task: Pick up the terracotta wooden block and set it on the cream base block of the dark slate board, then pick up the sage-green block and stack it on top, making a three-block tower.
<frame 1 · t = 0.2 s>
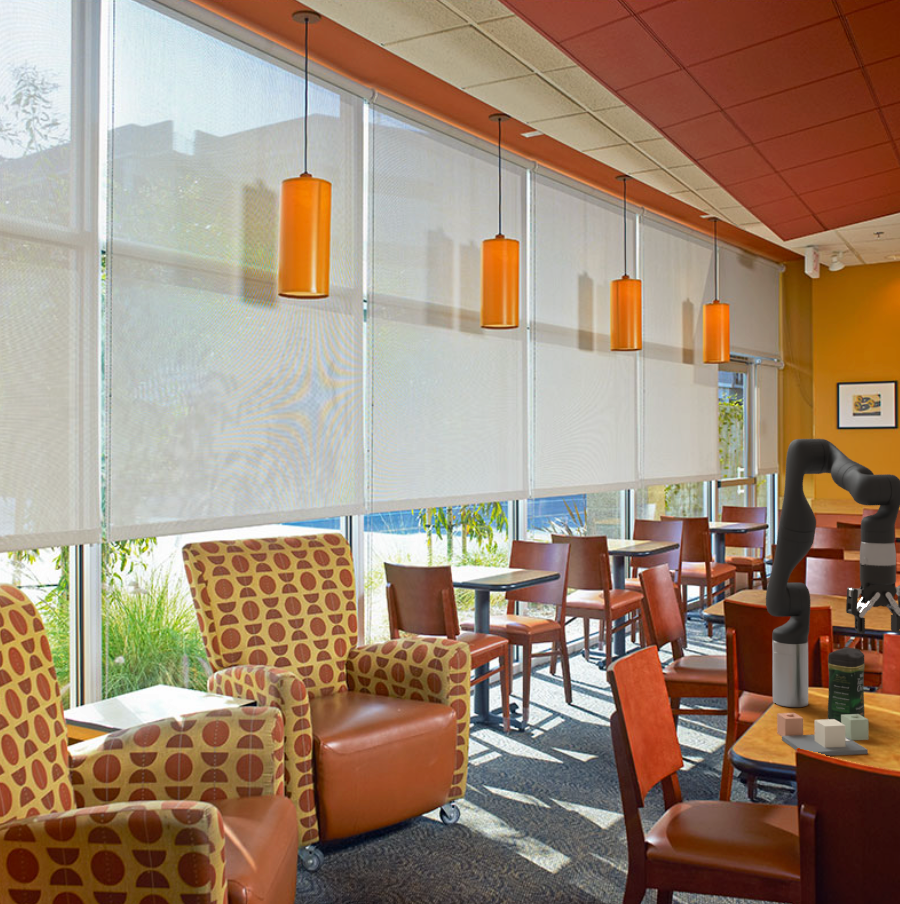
hand: (877, 632, 212), 29 cm above the table, fingers open, 8 cm apart
brick sage: (854, 737, 227), on the table
brick terracotta: (790, 735, 228), on the table
build board: (823, 746, 220), on the table
coffee jar: (846, 721, 240), on the table
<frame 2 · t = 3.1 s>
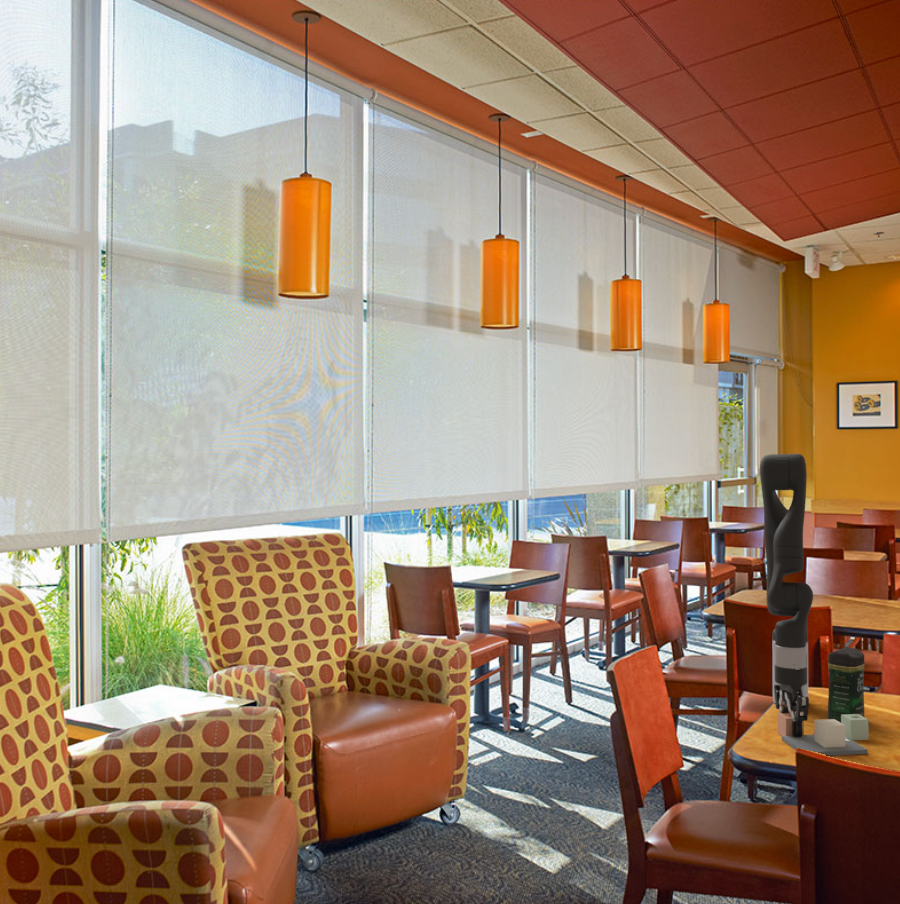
hand: (791, 732, 227), 1 cm above the table, fingers open, 5 cm apart
brick terracotta: (790, 736, 228), on the table, touching gripper
everything else where it was.
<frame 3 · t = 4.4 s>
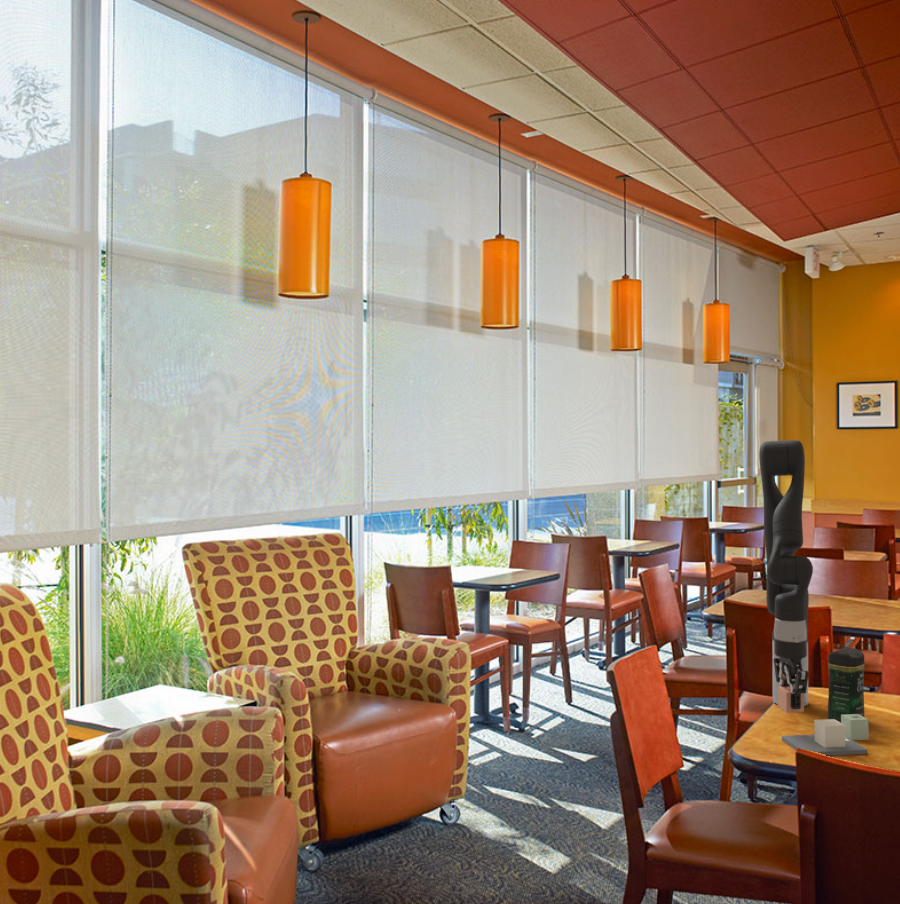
hand: (790, 705, 229), 7 cm above the table, fingers closed on brick terracotta, 4 cm apart
brick terracotta: (790, 709, 229), point 6 cm above the table, touching gripper
everything else where it was.
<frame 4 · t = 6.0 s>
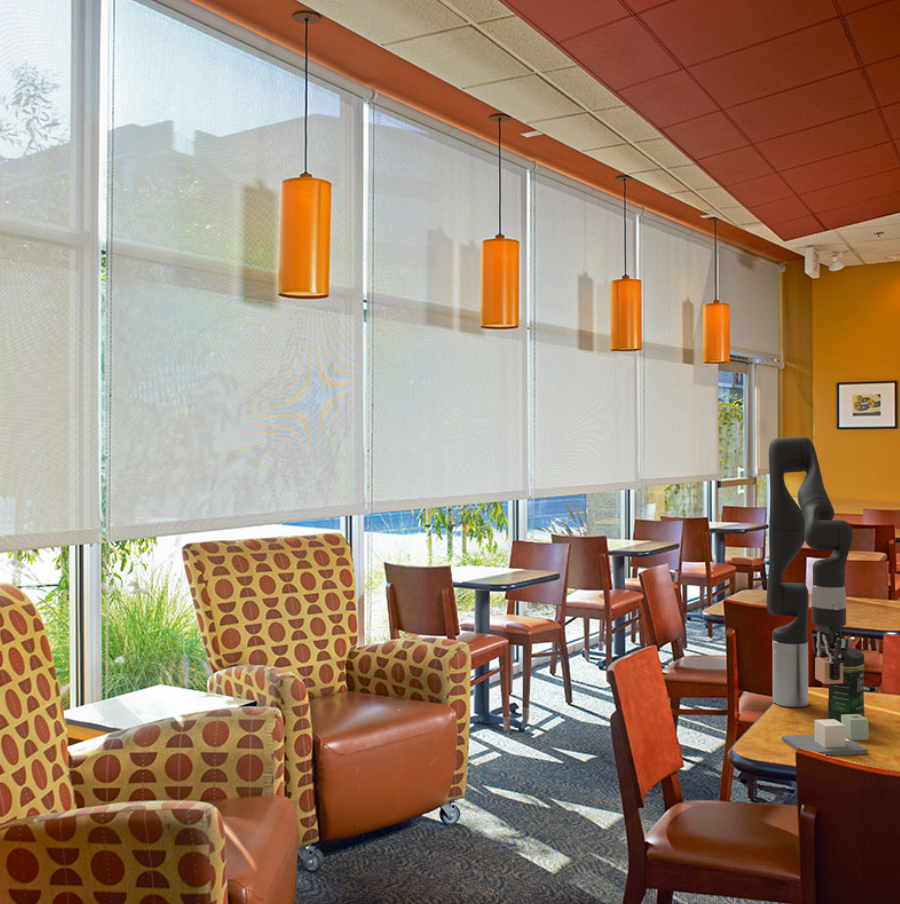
hand: (829, 676, 219), 17 cm above the table, fingers closed on brick terracotta, 4 cm apart
brick terracotta: (828, 680, 219), point 16 cm above the table, touching gripper
everything else where it was.
when the fingers open (7 cm above the table, at t = 8.0 s): brick terracotta stays where it is, resting on build board.
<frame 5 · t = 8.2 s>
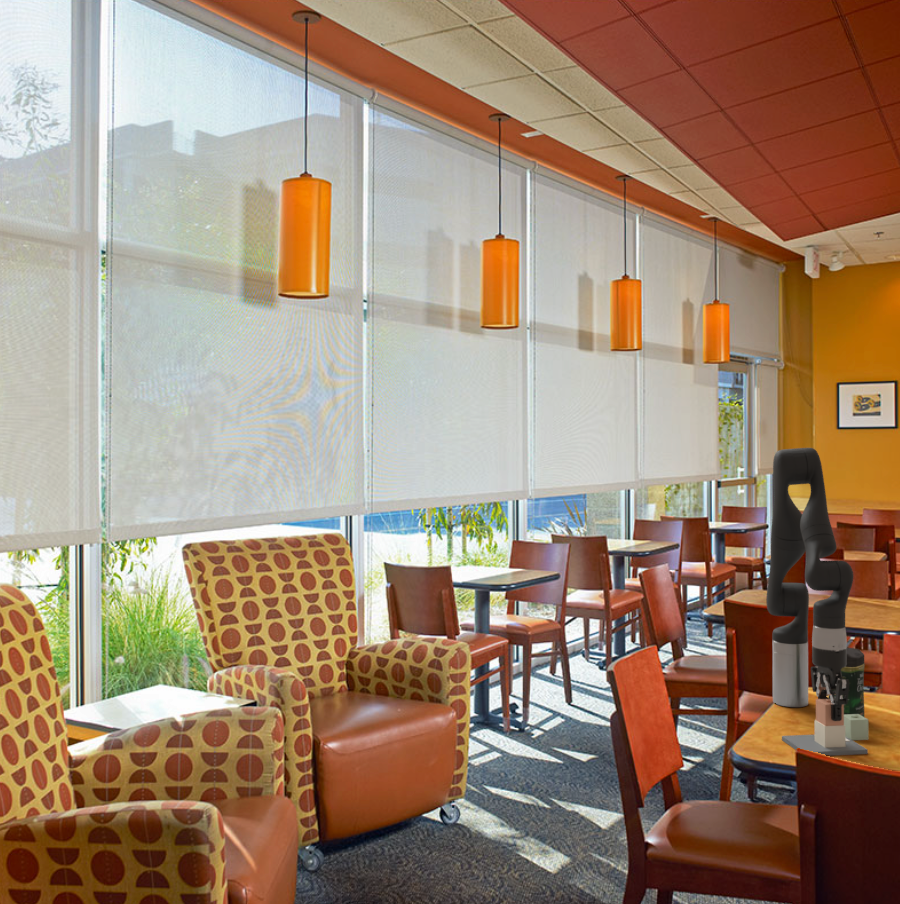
hand: (829, 716, 219), 7 cm above the table, fingers open, 5 cm apart
brick terracotta: (829, 722, 219), point 6 cm above the table, touching build board
everything else where it was.
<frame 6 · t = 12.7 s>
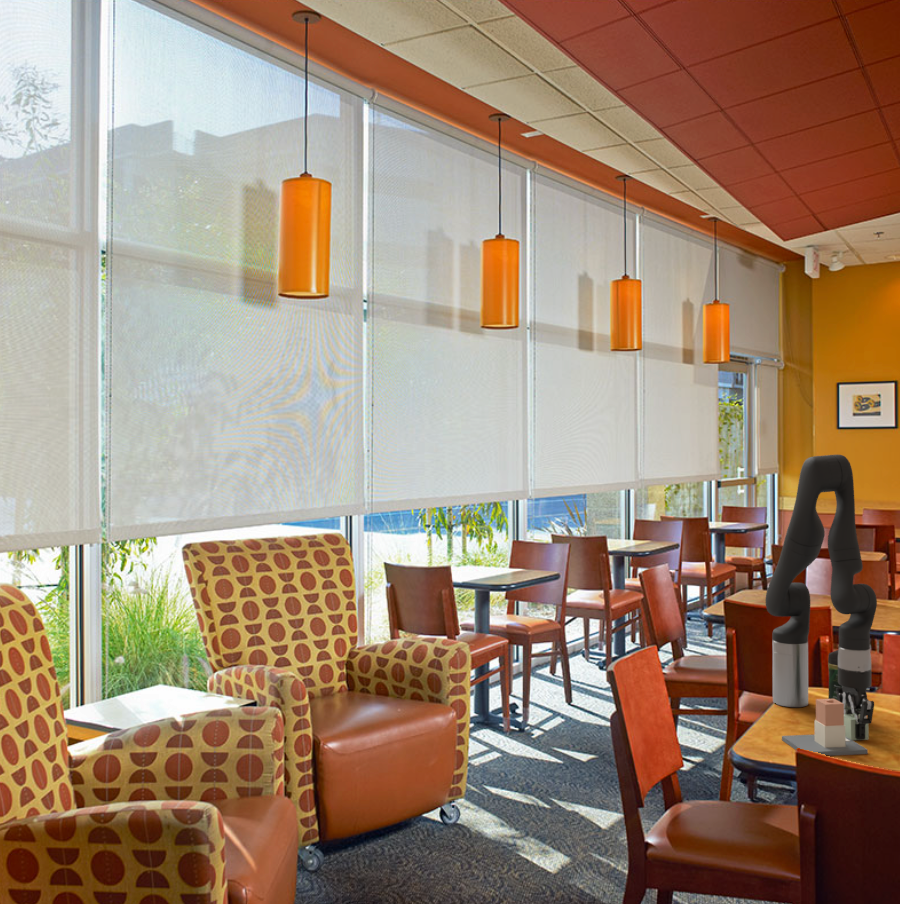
hand: (854, 735, 227), 0 cm above the table, fingers closed on brick sage, 4 cm apart
brick sage: (854, 737, 227), on the table, touching gripper
everything else where it was.
when the fingers open (12 cm above the table, at t = 17.4 s): brick sage stays where it is, resting on brick terracotta.
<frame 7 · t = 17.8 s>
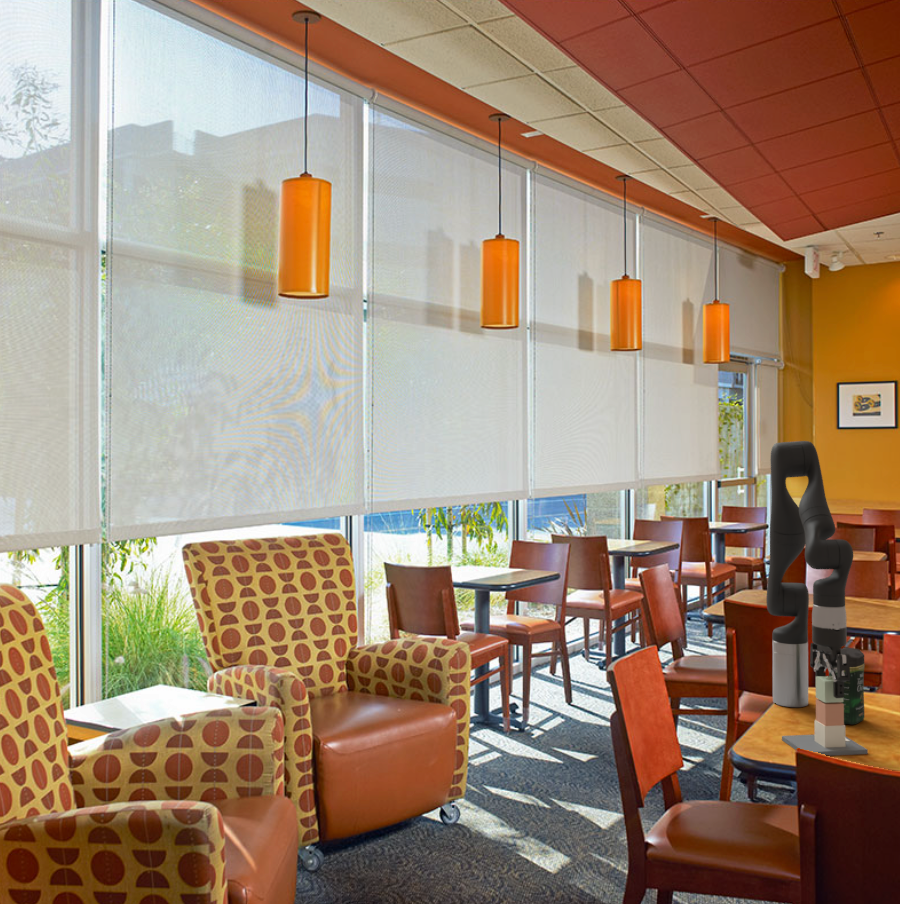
hand: (829, 692, 219), 13 cm above the table, fingers open, 8 cm apart
brick sage: (829, 699, 219), point 11 cm above the table, touching brick terracotta
brick terracotta: (829, 722, 219), point 6 cm above the table, touching brick sage, build board
everything else where it was.
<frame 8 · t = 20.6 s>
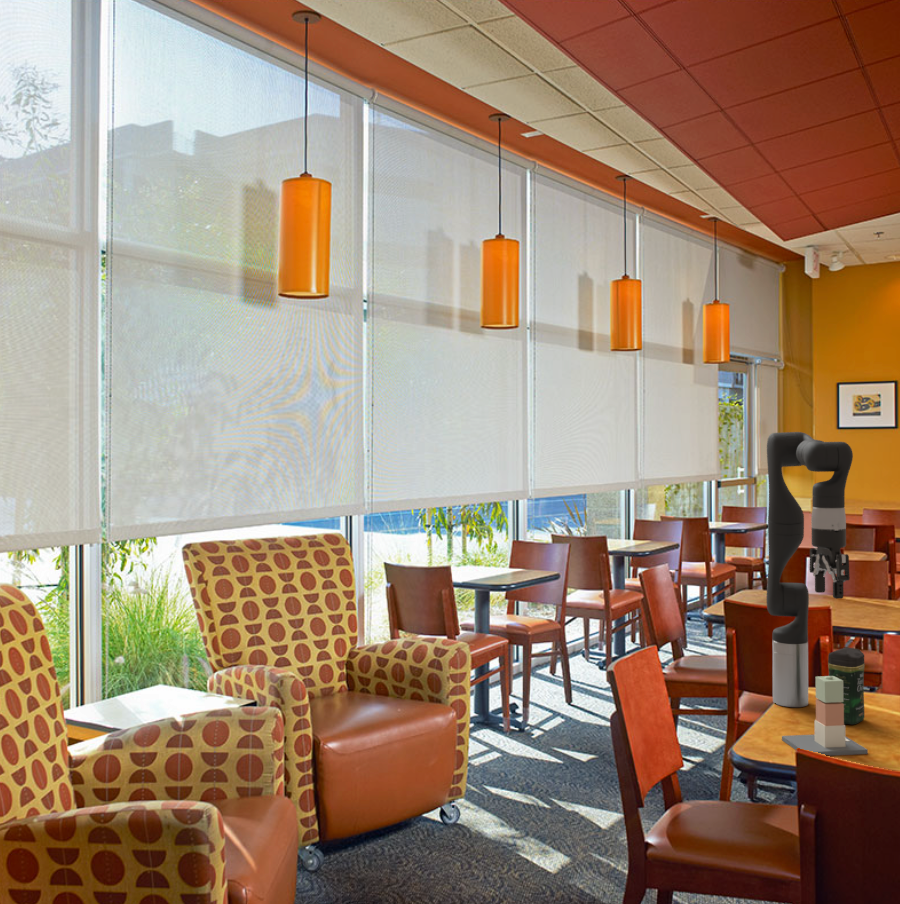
hand: (829, 595, 218), 36 cm above the table, fingers open, 8 cm apart
nothing on the table moved.
at the end: brick terracotta 0.0 cm from the target spot on the build board, point 6.0 cm above the build board's base; brick sage 0.1 cm from the target spot on the build board, point 11.4 cm above the build board's base; brick sage tilted 0° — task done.
